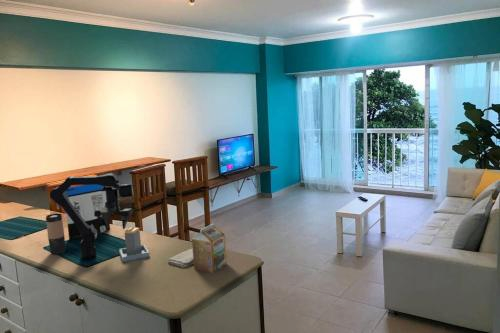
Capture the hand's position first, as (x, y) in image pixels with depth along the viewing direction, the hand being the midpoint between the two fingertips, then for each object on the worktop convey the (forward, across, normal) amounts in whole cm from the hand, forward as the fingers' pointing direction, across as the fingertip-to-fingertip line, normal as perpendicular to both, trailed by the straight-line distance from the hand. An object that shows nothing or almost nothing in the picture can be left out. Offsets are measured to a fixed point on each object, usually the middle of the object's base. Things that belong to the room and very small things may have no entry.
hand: (115, 229), depth 208 cm
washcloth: (+14, +39, -5) cm, 42 cm away
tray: (+13, +10, -2) cm, 17 cm away
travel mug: (+13, -34, 0) cm, 36 cm away
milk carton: (+13, +52, -12) cm, 55 cm away
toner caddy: (+12, +10, -2) cm, 16 cm away
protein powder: (+13, -33, +28) cm, 45 cm away
